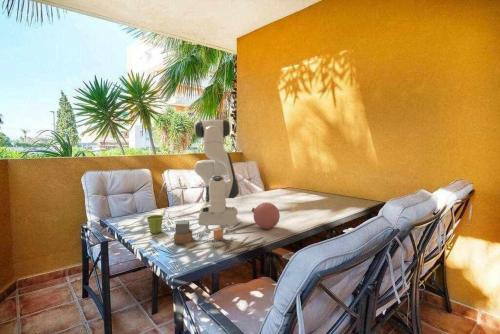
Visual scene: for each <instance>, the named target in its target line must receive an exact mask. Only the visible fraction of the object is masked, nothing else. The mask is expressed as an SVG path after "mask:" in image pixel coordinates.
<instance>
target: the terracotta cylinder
mask: <svg viewBox="0 0 500 334" xmlns="http://www.w3.org/2000/svg"><path fill="white" fill-rule="evenodd" d="M212 234H213V240H215V241H221V240H224V229H223V228H222V227H216V228H214V229H213V233H212Z"/></svg>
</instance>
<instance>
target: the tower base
mask: <svg viewBox="0 0 500 334" xmlns="http://www.w3.org/2000/svg"><path fill="white" fill-rule="evenodd" d="M192 240H193V229H192V228H189V232H188V233H186V234H176V231H175V232H174V234H173V243H174V244H190V243H191V242H192Z"/></svg>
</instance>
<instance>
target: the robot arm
mask: <svg viewBox="0 0 500 334" xmlns="http://www.w3.org/2000/svg"><path fill="white" fill-rule="evenodd" d="M231 130H232V128H231V124H230V121H228V120H227V119H206V120H197V121H195V124H194V125H193V132H194V134H195V136H196V137H197V138H200V139H203V151H204V155H205V156H206V158H208V159H202V160H198V161H196V162H195V164H194V168H193V169H194V173H195V174H196V175H197V176H199V177H200V178H201V179H202V181H203V183H204V185H205V186H204V187H205V200H204V201H205V202H204V203H203V205H202V206H201V207H200V211H199V212H200V213H199V215H198V220H197V221H198V223H197V224H198V226H200V227H201V226H205V229H206V230H207V234H211V231H212V229H209V226H227V228H226V229H225V234H229V231H230V230H229V229H230V228H231V226H236V225H237V223H238V217H237V215H238V209H237V208H236V207H235V206H232V207H231V206H227V201H226V199H235V198H236V197H238V195H239V193H240V186H239V183H238V180H237V178H236V173H235V169H234V164H233V161H232V157H231V155H230V153H229V152H227V151H226V149H225V147H224V139H223V138H226V137H228V136H229V135H230V133H231ZM223 176H227V179H228V180H225V178H224V177H223Z"/></svg>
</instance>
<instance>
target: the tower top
mask: <svg viewBox="0 0 500 334" xmlns="http://www.w3.org/2000/svg"><path fill="white" fill-rule="evenodd" d="M189 229H190V220H177V222H176V223H175V232H176V234H186V233H188V232H189Z"/></svg>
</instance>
